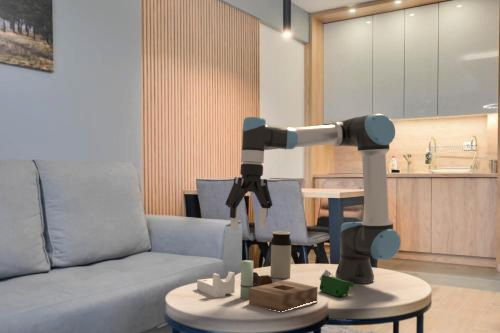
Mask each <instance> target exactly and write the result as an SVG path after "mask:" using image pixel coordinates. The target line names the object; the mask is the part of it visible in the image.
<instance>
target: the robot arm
mask: <svg viewBox="0 0 500 333" xmlns="http://www.w3.org/2000/svg"><path fill="white" fill-rule="evenodd" d="M241 131H242V136H241V139H242V140H241V153H240V154H241V158H240V162H241V165H240V175H241V177H234V178H233V179H234V180H233V184H232V186H231V189H230V192H229V193H228V196H227V199H226V201H225V206H227V207H228V208H230V209H229V218H230V229H236V230H237V229H239V216H240V215H239V214H240V213H239V212H240V208H239V205H240V203H242V201H243V199H244V197H245V196H246V195H247V194H248V193H253V194H255V197H256V199H257V201H258V203H259V205H260V207H259V210H258V211H259V215H258V227H259V228H263V229H264V228H267V217H268V210H269V209H271V207H273V200H272V197H271V194H270V190H269V186H268V179H267V178H261V177H262V176H263V175H264V166H263V164H264V160H265V151H268V150H269V151H270V150H279V149H281V150H282V149H283V150H285V151H286V150H294V149H295V148H302V147H303V148H304V147H313V146H314V147H315V146H325V145H331V146H333V147H357V152H358V154H360V155H361V159H362V182H363V199H364V200H363V203H364V204H363V205H364V220H363V221H354V222H352V221H351V222H350V221H349V222H344V223H341V226H340V233H339V234H340V249H339V250H340V251H339V252H340V255H339V256H340V257H339V258H340V259H339V261H338V266H337V267H336V268H337V269H336V270H335V276H334V277H335V278H339V279H341V280H344V281H348V282H352V283H354V284H369V283H368V282H371V283H373V282H372V281H373V280H374V281H375V274H374V271H373V270H374V269H373V267H372V264H371V258H372V259H375V260H378V261H389V260H391V259H393V258H394V257H395V256H396V254H398V252H399V251H400V248H401V240H402V239H401V237H400V235H399V233H398V232H397V231H396V230H394V222H393V221H392V220H391V219H390V218H389V216H390V215H389V199H388V180H387V159H386V158H387V157H386V156H387V155H386V154H387V153H388V152H389V151H390V144H391V143H392V142H393V140H394V139H395V137H396V128H395V125H394V123H393V121H392V119H390V118H389V117H388V116H387V115H385V114H381V113H373V114H372V113H371V114H368V115H367V114H366V115H362V116H361V115H360V116H357V117H356V116H355V117H352V118H349V119H345V120H341V121H333V122H331V123H330V124H324V125H312V126H310V125H309V126H297V127H295V126H294V127H288V126H279V125H278V126H277V125H269V124H267V122H266V119H265V118H264V117H259V116H248V117H245V118H244V119H243V123H242V129H241Z"/></svg>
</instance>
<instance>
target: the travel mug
mask: <svg viewBox="0 0 500 333" xmlns="http://www.w3.org/2000/svg"><path fill="white" fill-rule="evenodd" d="M271 233H272V239H271V242H270V245H271V246H270V274H269V276H270V277H271V279H272V278H273V279H277V280H287V279H289V278H291V268H292V267H291V260H292V239H291V238H290V237H291V234H292V233H291V232H290V231H272V232H271Z"/></svg>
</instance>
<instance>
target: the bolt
mask: <svg viewBox="0 0 500 333" xmlns="http://www.w3.org/2000/svg"><path fill="white" fill-rule="evenodd" d="M272 283H274V280H273V279H272V277H271V276H270V274H266V275H265V274H264V275H259V273H258V272H256V271H253V285H257V286H262V285H267V284H272Z"/></svg>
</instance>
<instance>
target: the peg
mask: <svg viewBox="0 0 500 333" xmlns="http://www.w3.org/2000/svg"><path fill="white" fill-rule="evenodd" d="M240 264H241V265H240V285H239V286H240V292H239V294H240V296H239V297H240V299H242V300H246V301H249V288H252V287H254V284H253V272H254V260H248V259H245V260H241V263H240Z"/></svg>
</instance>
